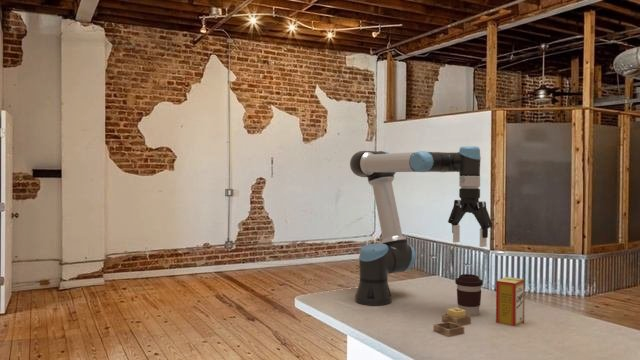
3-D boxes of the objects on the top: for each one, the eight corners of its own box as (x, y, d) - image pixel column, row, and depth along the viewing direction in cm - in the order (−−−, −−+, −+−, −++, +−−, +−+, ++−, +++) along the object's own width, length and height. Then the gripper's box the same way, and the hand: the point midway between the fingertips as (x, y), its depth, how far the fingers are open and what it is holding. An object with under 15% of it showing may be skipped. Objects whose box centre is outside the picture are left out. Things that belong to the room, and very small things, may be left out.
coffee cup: (484, 319, 190) (484, 278, 189) (455, 318, 192) (456, 277, 191) (481, 312, 199) (481, 273, 199) (454, 311, 201) (454, 272, 201)
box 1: (441, 322, 184) (441, 314, 184) (456, 320, 188) (456, 311, 188) (455, 328, 178) (456, 319, 178) (470, 325, 182) (471, 316, 182)
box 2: (433, 333, 173) (433, 324, 173) (449, 330, 177) (449, 321, 177) (448, 339, 167) (448, 330, 167) (464, 336, 171) (464, 327, 171)
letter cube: (446, 321, 184) (447, 308, 184) (456, 320, 186) (456, 307, 186) (456, 325, 180) (456, 311, 180) (465, 323, 182) (465, 310, 182)
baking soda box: (514, 328, 179) (515, 282, 179) (496, 325, 183) (496, 279, 183) (524, 322, 186) (524, 278, 186) (506, 319, 190) (506, 275, 190)
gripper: (439, 187, 204) (438, 241, 204) (488, 188, 182) (487, 249, 182) (453, 186, 207) (453, 239, 208) (503, 188, 186) (502, 247, 186)
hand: (469, 244), depth 195 cm, fingers open, 13 cm apart
